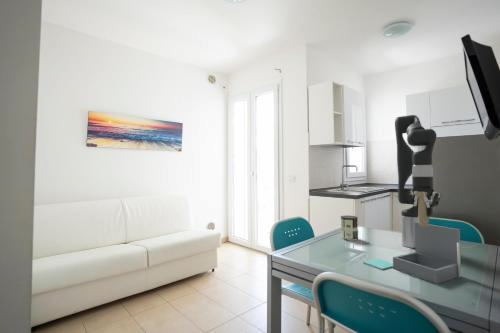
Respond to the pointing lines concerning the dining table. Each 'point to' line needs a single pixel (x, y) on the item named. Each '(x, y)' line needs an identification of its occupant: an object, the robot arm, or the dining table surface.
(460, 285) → the dining table surface
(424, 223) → the handle
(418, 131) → the robot arm
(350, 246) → the dining table surface
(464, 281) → the dining table surface
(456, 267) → the case
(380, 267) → the pad
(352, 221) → the coffee can
